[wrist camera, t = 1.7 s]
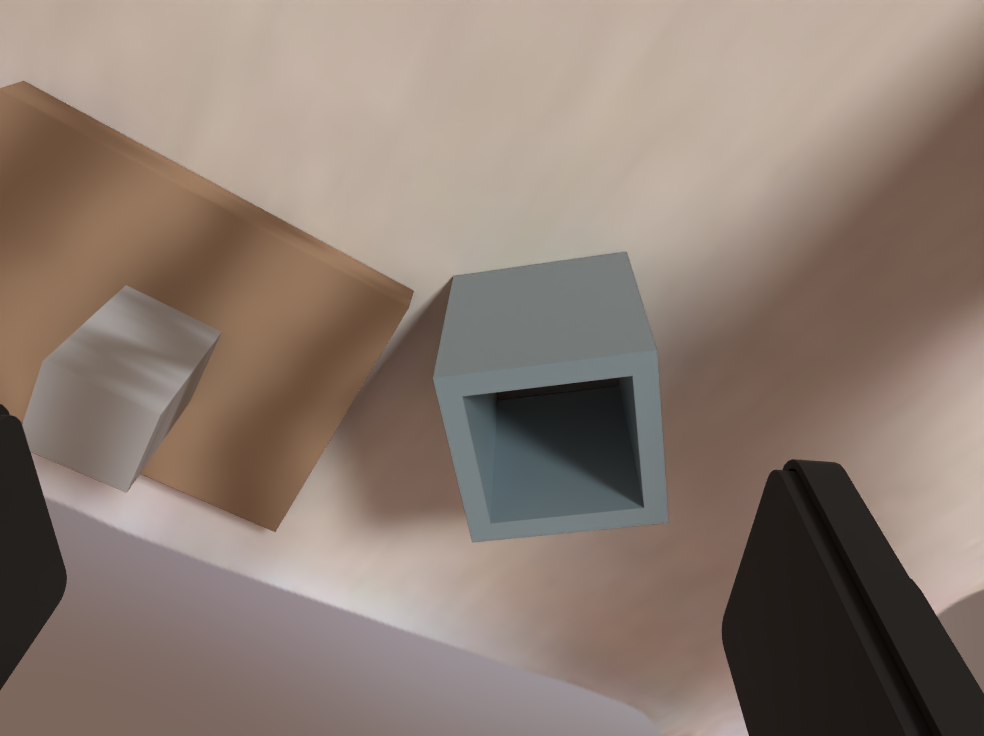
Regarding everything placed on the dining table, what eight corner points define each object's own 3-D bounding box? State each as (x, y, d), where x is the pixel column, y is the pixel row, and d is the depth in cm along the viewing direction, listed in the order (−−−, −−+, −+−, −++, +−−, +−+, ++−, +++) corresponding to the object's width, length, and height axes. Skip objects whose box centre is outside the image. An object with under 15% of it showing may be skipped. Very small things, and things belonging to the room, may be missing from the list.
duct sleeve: (626, 251, 30) (657, 350, 23) (638, 399, 33) (668, 523, 27) (453, 276, 31) (432, 378, 24) (482, 417, 34) (472, 542, 27)
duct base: (413, 290, 31) (385, 387, 25) (283, 511, 38) (233, 634, 31) (23, 80, 27) (-131, 129, 21) (-48, 364, 34) (-183, 468, 27)
